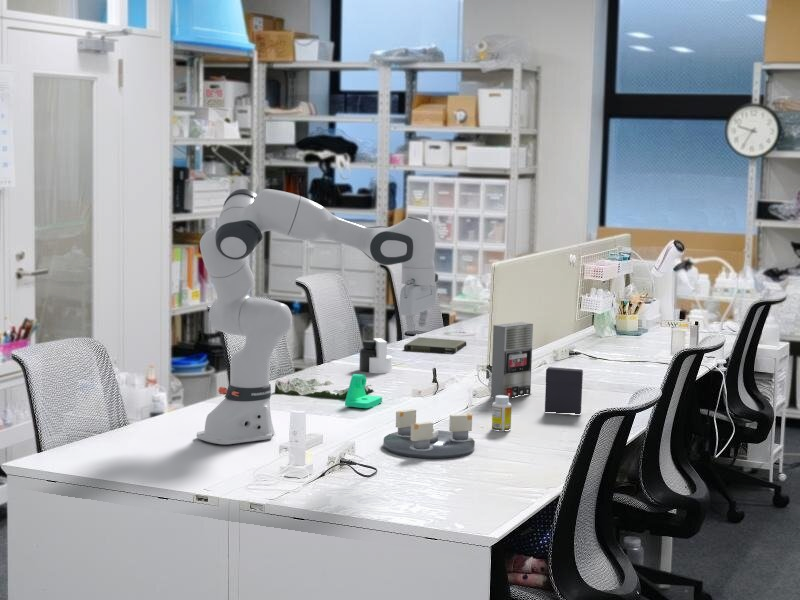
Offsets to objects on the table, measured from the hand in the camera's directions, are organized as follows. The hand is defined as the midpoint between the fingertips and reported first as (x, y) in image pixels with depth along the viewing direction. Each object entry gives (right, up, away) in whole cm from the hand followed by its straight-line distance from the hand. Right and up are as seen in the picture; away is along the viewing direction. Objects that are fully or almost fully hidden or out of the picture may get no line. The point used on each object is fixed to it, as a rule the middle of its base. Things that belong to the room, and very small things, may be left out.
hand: (416, 328), depth 318 cm
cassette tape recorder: (+33, -25, +73) cm, 84 cm away
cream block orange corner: (-3, -30, +11) cm, 32 cm away
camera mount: (-16, -27, +56) cm, 64 cm away
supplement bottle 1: (-16, -19, +112) cm, 115 cm away
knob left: (+1, -32, -3) cm, 32 cm away
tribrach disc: (+3, -33, +5) cm, 33 cm away
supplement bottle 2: (+25, -31, +27) cm, 48 cm away
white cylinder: (-12, -19, +111) cm, 114 cm away
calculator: (+46, -29, +49) cm, 73 cm away
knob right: (+12, -30, +8) cm, 34 cm away
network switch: (+10, -15, +161) cm, 162 cm away
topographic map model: (-26, -23, +84) cm, 91 cm away
